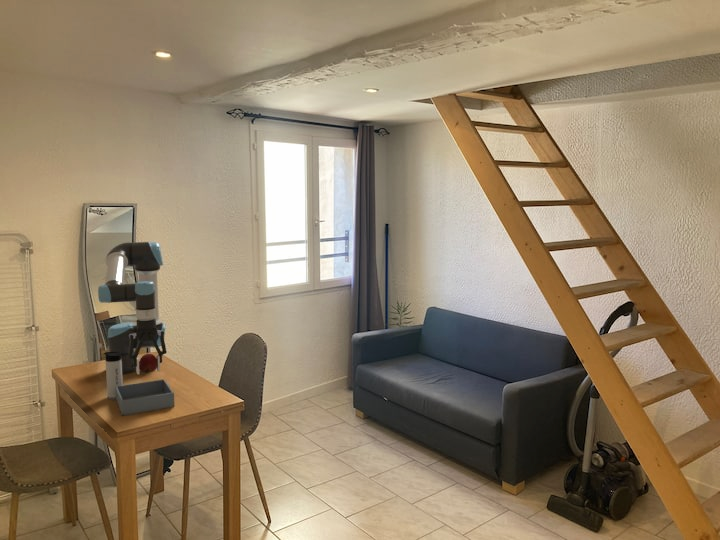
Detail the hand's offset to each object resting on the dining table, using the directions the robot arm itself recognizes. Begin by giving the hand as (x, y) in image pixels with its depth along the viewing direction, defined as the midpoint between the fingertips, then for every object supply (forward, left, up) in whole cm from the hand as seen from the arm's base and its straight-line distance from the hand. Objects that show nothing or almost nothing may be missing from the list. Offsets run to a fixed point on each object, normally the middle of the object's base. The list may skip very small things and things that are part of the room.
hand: (148, 372), depth 232 cm
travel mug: (-14, -12, -13) cm, 22 cm away
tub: (0, -2, -13) cm, 13 cm away
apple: (0, 0, -1) cm, 1 cm away
